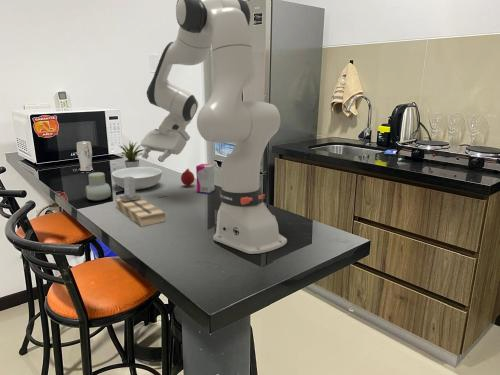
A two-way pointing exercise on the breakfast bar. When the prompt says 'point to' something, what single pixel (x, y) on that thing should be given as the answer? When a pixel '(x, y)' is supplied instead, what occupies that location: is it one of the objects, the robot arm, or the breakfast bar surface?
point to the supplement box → (205, 178)
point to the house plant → (131, 155)
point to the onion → (187, 177)
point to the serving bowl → (138, 176)
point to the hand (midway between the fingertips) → (151, 159)
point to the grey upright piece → (129, 190)
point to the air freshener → (97, 187)
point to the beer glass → (85, 155)
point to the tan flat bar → (141, 211)
